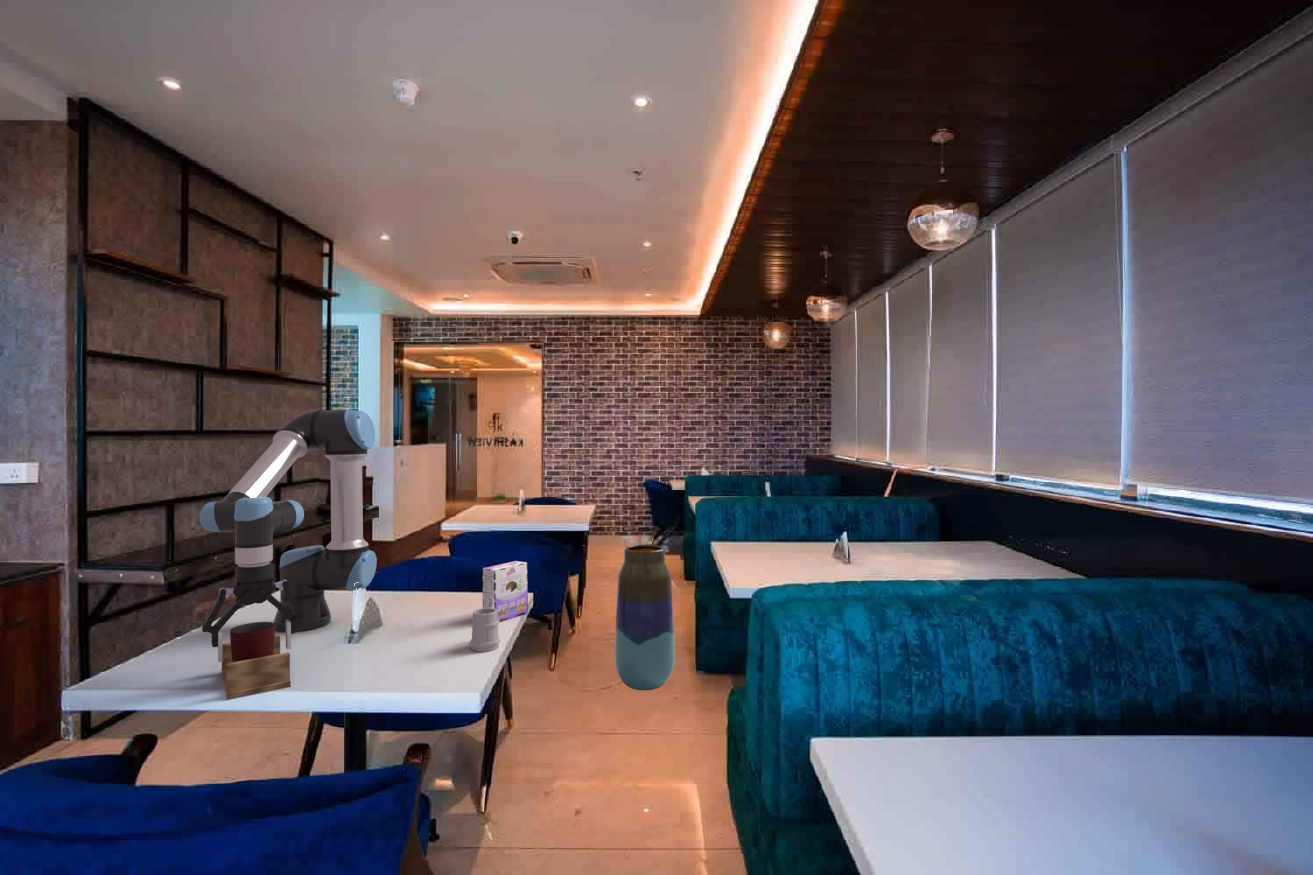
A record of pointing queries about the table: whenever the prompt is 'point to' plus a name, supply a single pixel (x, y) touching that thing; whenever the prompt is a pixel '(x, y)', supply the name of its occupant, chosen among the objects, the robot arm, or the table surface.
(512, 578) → the candy box
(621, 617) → the vase
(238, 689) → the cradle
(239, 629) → the mug
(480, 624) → the mug
